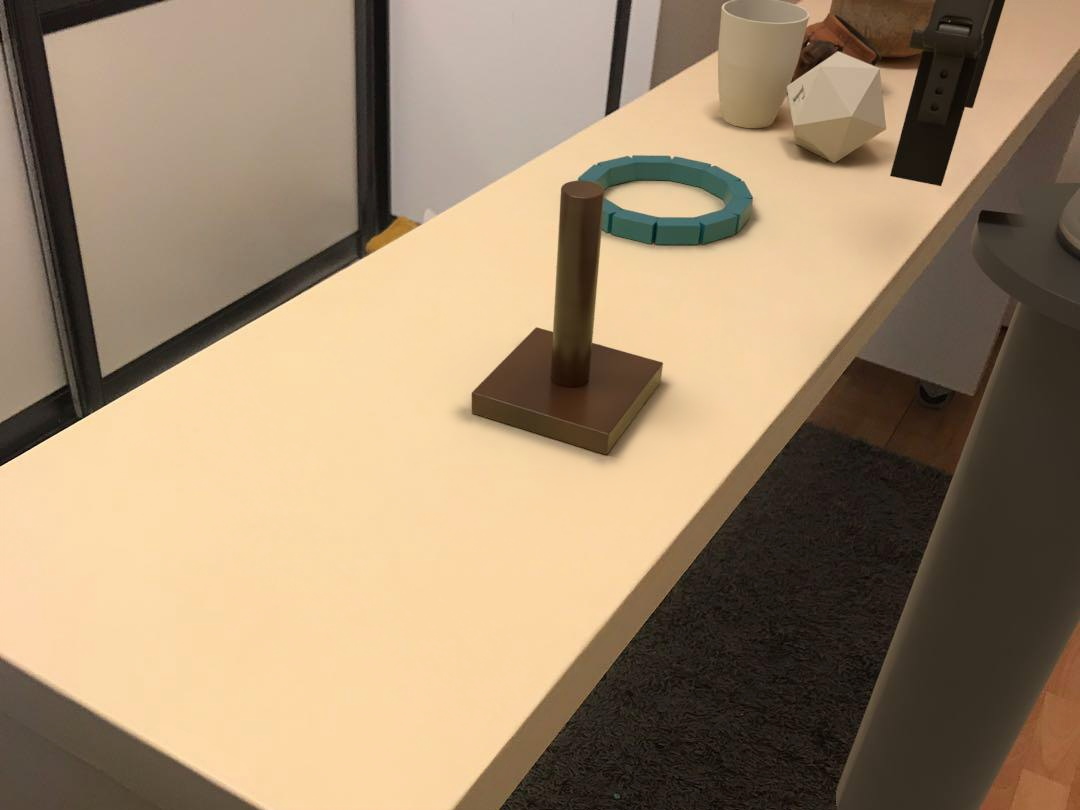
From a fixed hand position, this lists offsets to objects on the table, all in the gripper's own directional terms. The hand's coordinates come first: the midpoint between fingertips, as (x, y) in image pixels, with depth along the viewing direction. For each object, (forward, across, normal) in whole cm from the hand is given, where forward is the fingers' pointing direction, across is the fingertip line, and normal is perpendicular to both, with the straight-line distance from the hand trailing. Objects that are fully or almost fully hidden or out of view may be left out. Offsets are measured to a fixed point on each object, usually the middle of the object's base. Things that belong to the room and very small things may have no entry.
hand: (934, 138), depth 62 cm
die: (+15, -36, -11) cm, 41 cm away
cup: (+15, -40, -20) cm, 48 cm away
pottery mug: (+15, -52, -16) cm, 57 cm away
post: (+15, +14, -16) cm, 26 cm away
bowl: (+15, -72, -12) cm, 75 cm away
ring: (+15, -16, -21) cm, 30 cm away
